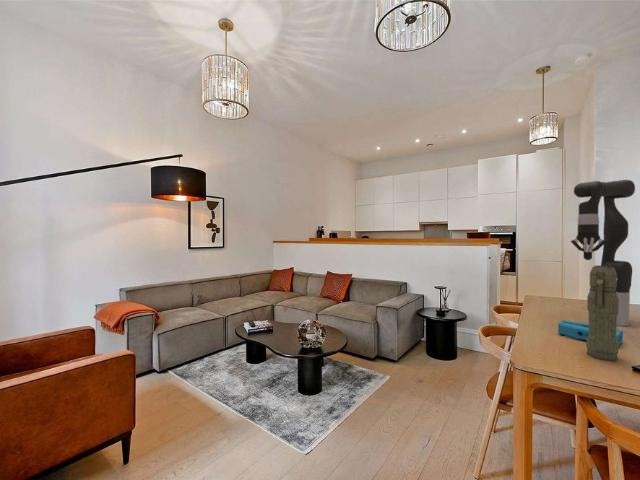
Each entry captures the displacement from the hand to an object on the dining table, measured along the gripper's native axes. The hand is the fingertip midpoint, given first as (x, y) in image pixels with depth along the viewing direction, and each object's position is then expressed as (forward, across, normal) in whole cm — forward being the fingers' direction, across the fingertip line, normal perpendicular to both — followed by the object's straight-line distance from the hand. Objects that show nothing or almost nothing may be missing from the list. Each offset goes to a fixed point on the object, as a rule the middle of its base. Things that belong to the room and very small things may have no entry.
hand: (587, 259), depth 142 cm
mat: (+35, +2, +7) cm, 36 cm away
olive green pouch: (+35, +1, +34) cm, 49 cm away
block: (+32, +11, +8) cm, 35 cm away
